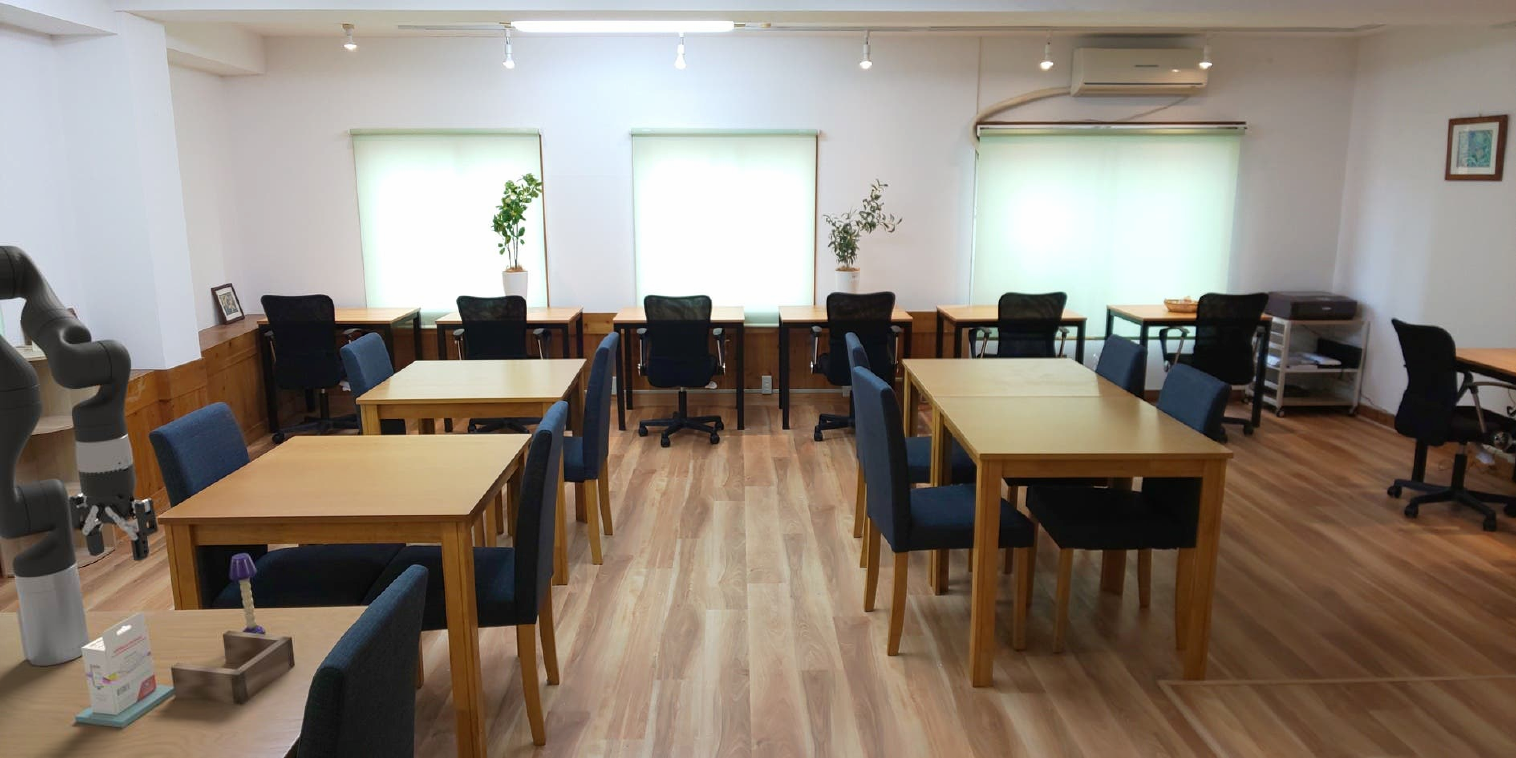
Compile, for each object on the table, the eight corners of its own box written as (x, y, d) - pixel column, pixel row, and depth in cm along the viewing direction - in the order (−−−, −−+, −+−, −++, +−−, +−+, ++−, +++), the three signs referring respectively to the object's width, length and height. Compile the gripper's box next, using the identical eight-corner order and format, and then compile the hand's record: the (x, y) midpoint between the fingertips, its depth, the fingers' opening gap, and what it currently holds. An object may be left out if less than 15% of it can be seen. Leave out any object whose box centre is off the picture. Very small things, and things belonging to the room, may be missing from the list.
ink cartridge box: (133, 686, 166) (121, 607, 163) (157, 689, 165) (146, 609, 162) (90, 713, 158) (76, 630, 155) (116, 716, 157) (102, 633, 154)
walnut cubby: (174, 696, 165) (170, 667, 164) (232, 658, 178) (228, 630, 177) (241, 704, 162) (238, 674, 161) (294, 664, 175) (291, 637, 174)
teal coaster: (75, 721, 157) (75, 716, 157) (131, 687, 168) (130, 681, 168) (123, 727, 156) (122, 722, 155) (175, 692, 166) (175, 687, 166)
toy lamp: (248, 644, 183) (238, 561, 179) (231, 639, 185) (221, 557, 181) (270, 633, 187) (260, 552, 184) (253, 628, 189) (244, 548, 186)
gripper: (48, 467, 154) (63, 561, 158) (123, 473, 152) (137, 569, 155) (88, 453, 162) (102, 544, 165) (161, 459, 159) (173, 551, 162)
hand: (119, 556), depth 160 cm, fingers open, 8 cm apart
